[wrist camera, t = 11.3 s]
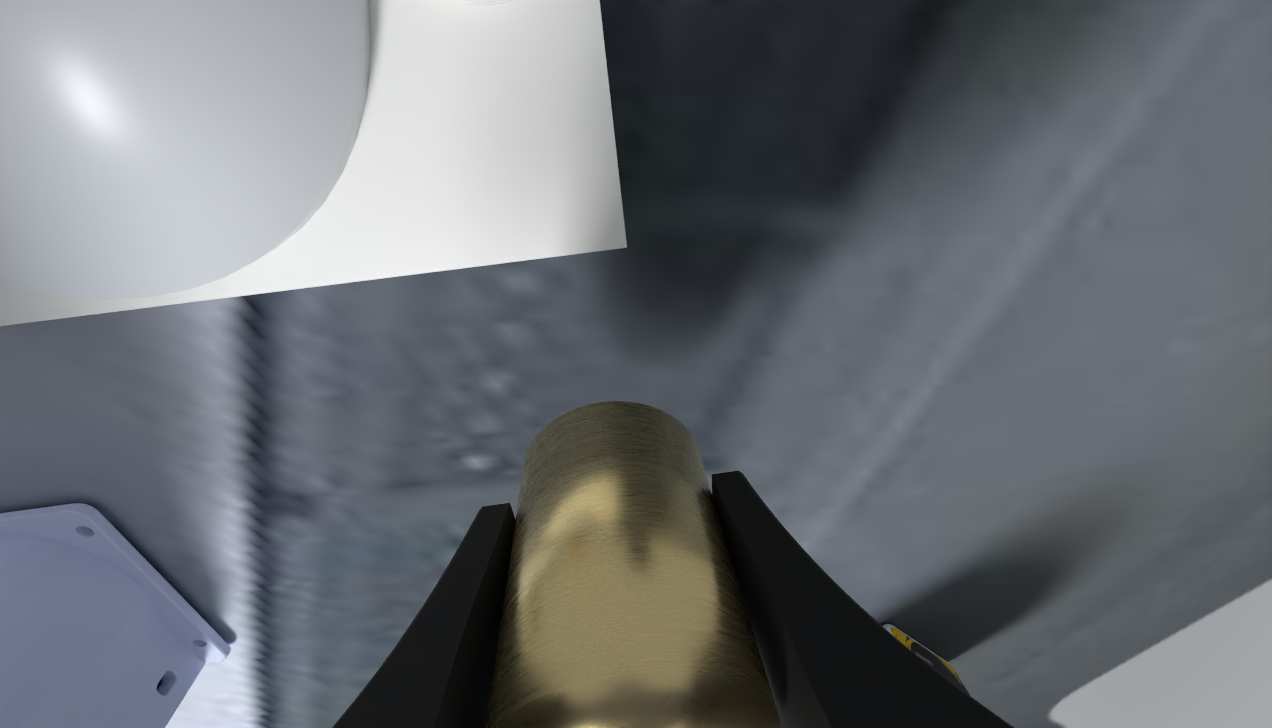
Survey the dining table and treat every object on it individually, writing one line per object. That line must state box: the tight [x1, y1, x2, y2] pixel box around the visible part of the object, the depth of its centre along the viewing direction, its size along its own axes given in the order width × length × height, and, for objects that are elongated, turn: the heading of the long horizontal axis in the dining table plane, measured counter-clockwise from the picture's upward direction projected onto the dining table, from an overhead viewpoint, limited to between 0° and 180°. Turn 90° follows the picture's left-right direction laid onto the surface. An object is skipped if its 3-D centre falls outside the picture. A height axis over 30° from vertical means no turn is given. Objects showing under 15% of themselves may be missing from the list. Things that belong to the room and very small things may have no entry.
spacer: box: [486, 401, 780, 728], centre depth 10 cm, size 4×4×6 cm
